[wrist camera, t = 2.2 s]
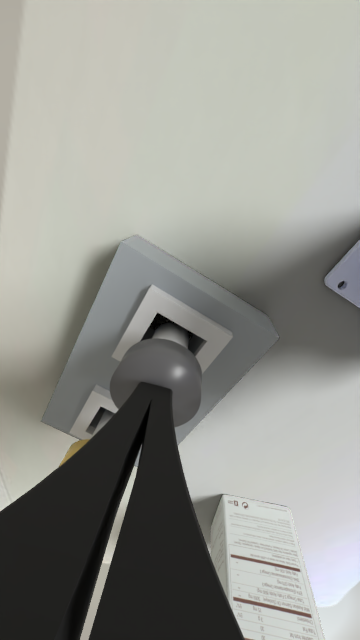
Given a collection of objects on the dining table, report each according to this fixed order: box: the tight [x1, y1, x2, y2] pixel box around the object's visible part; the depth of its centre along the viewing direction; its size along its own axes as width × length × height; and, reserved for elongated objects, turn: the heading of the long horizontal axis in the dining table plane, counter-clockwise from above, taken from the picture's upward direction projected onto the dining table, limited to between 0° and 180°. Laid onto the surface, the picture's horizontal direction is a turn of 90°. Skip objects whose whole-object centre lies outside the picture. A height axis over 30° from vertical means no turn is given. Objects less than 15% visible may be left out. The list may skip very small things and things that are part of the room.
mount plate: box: [41, 235, 279, 467], centre depth 17 cm, size 10×16×4 cm, turn 149°
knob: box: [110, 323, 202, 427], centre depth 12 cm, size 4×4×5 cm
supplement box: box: [210, 495, 325, 640], centre depth 21 cm, size 7×7×13 cm
